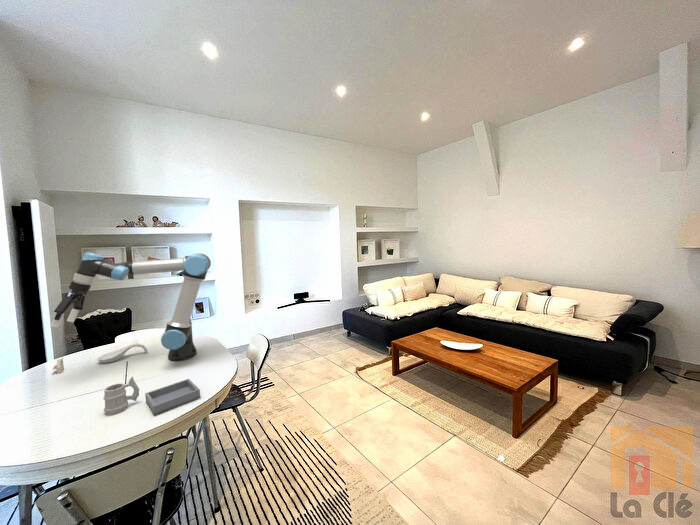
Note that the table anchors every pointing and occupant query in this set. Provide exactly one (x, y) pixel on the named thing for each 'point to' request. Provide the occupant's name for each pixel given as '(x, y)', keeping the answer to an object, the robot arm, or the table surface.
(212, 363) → the table surface
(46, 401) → the table surface
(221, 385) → the table surface
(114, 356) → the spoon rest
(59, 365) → the architectural model
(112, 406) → the mug
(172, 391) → the box
